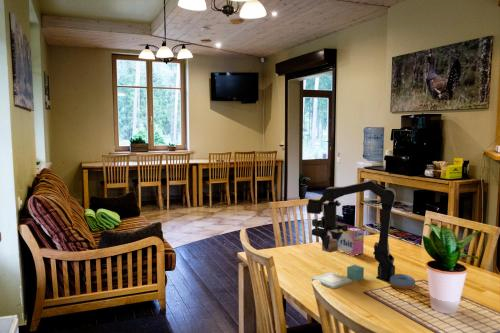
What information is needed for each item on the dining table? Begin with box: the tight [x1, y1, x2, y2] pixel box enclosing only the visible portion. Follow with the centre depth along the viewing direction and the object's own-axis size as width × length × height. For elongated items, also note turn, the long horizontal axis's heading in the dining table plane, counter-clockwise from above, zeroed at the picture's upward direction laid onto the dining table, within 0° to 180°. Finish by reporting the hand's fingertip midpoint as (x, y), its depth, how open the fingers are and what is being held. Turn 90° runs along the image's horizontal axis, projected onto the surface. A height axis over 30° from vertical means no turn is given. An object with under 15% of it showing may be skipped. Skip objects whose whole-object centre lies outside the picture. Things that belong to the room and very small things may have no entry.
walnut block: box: [321, 238, 339, 254], centre depth 184 cm, size 5×5×5 cm
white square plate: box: [311, 271, 353, 290], centre depth 172 cm, size 12×12×1 cm
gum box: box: [328, 221, 365, 256], centre depth 218 cm, size 24×8×14 cm, turn 31°
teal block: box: [346, 264, 365, 282], centre depth 176 cm, size 5×5×5 cm
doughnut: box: [390, 273, 416, 290], centre depth 167 cm, size 10×10×5 cm
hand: (329, 248), depth 184 cm, fingers closed on walnut block, 5 cm apart
